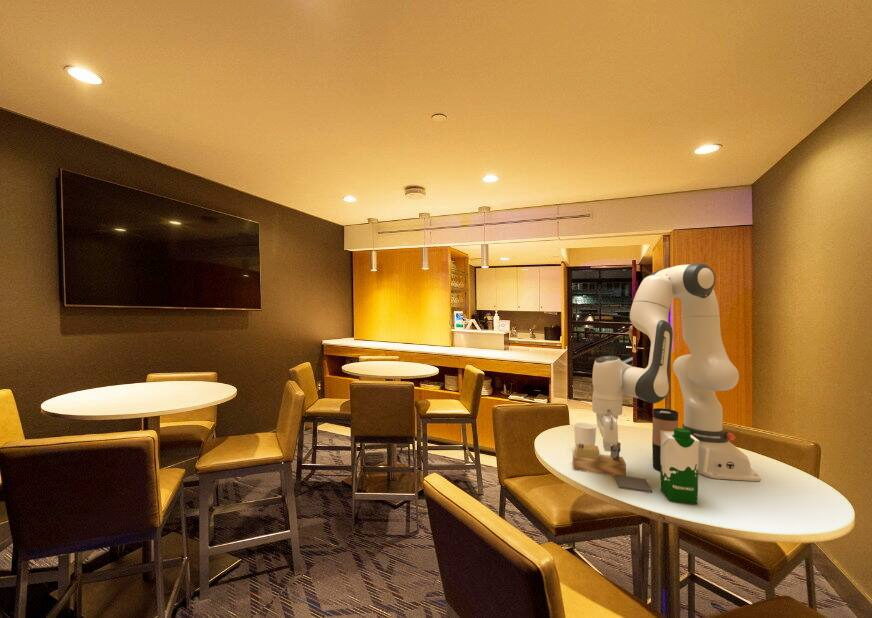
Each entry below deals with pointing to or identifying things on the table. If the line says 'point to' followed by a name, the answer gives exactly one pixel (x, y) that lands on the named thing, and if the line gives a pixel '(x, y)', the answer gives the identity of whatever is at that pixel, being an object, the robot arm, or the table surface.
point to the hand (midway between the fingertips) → (606, 450)
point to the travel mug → (661, 422)
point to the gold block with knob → (587, 451)
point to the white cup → (584, 434)
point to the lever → (615, 450)
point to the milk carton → (679, 466)
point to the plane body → (601, 464)
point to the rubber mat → (633, 483)
